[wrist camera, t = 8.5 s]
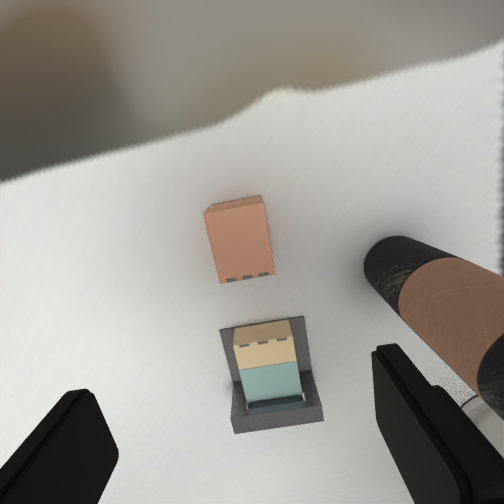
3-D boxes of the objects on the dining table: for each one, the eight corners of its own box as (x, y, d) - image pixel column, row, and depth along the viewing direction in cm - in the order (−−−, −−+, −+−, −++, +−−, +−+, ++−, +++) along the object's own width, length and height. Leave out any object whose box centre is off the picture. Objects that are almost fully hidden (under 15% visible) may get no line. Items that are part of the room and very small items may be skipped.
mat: (314, 389, 38) (314, 390, 38) (238, 400, 39) (238, 402, 39) (303, 315, 35) (304, 316, 35) (219, 329, 35) (219, 331, 35)
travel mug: (391, 303, 34) (565, 475, 15) (347, 268, 33) (481, 411, 14) (438, 259, 33) (702, 391, 14) (395, 219, 31) (622, 306, 12)
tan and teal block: (299, 387, 38) (304, 409, 35) (250, 394, 38) (250, 417, 35) (288, 319, 35) (292, 336, 31) (234, 328, 35) (232, 346, 32)
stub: (271, 254, 32) (275, 274, 26) (225, 262, 32) (220, 284, 27) (260, 195, 30) (263, 202, 24) (212, 204, 30) (203, 214, 24)
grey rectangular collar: (313, 383, 38) (323, 421, 32) (236, 395, 38) (234, 433, 33) (311, 369, 37) (321, 405, 32) (233, 381, 38) (230, 419, 32)
